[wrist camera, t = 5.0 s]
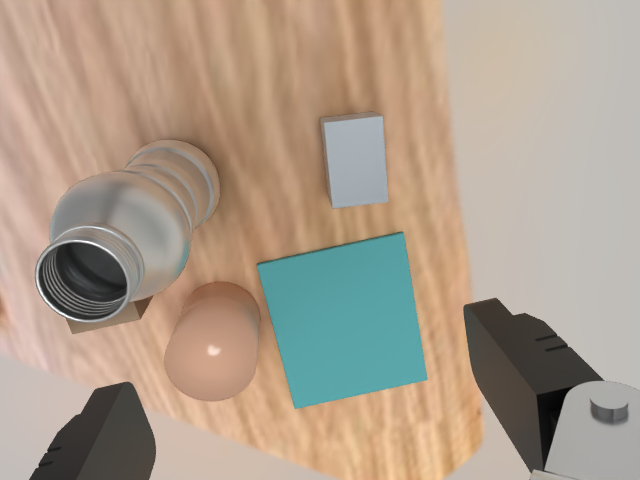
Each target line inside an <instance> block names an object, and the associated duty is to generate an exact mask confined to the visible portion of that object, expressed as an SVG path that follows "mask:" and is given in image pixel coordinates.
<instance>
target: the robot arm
mask: <svg viewBox="0 0 640 480" xmlns="http://www.w3.org/2000/svg"><path fill="white" fill-rule="evenodd" d="M463 311H464V320H465V327H466V335H467V342H468V349H469V356H470V363H471V367H472V371H473V374H474V377H475V380H476V383H477V385H478V387H479V389H480V390H481V392H482V394H483V395H484V397H485V399H486V400H487V402H488V404H489V405H490V407H491V408H492V410H493V412H494V413H495V415H496V417H497V418H498V420H499V422H500V423H501V425H502V426H503V428H504V430H505V431H506V433H507V435H508V436H509V438H510V440H511V441H512V443H513V444H514V446H515V448H516V449H517V451H518V453H519V454H520V456H521V458H522V459H523V461H524V462H525V464H526V466H527V467H528V469H529V471H530V472H531V476H530V479H529V480H640V391H639V390H637V389H636V388H633V387H631V386H628V385H625V384H622V383H617V382H611V381H604V380H603V379H602V378H601V377H600V376H599V375H598V374H597V373H596V372H595V371H594V370H593V369H592V368H591V367H590V366H589V365H588V364H587V363H586V362H585V361H584V360H583V359H582V358H581V357H580V356H579V355H578V354H577V353H576V352H575V351H574V350H573V349H572V348H570V347H568V345H567V343H565V341H563V340H562V339H561V338H560V337H558V336H557V334H556V333H555V332H554V331H553V330H552V329H551V328H550V327H549V326H548V325H547V324H546V323H545V322H544V321H542V320H539V319H537V318H535V317H533V316H530V315H528V314H526V313H523V314H518V315H512V314H511V313H510V312H509V311H508V310H507V308H506V307H505V306H504V305H503V304H502V303H501V302H500V301H499V300H498V299H497V298H493V299H489V300H484V301H479V302H475V303H471V304H466V305H464V310H463ZM47 451H48V452H47V453H45V454H44V456H43V458H42V460H41V461H40V463H39V468H36V469H35V471H34V473H33V474H32V476H31V477H30V479H29V480H149V478H150V475H151V471H152V469H153V465H154V462H155V456H156V446H155V438H154V435H153V432H152V429H151V427H150V424H149V422H148V419H147V417H146V414H145V412H144V409H143V407H142V404H141V402H140V399H139V397H138V394H137V392H136V390H135V388H134V386H133V385H132V383H130V382H123V383H119V384H115V385H110V386H106V387H102V388H97V389H95V390H94V392H93V393H92V395H91V397H90V398H89V400H88V402H87V404H86V405H85V407H84V409H83V411H82V412H81V414H79V415H76V416H75V417H73V418H72V419H71V420H70V421H69V422H68V423H67V424H66V425H65V426H64V427H63V428H62V429H61V430H60V431H59V432H58V433H57V435H56V436H55V438H54V440H53V441H52V443H51V444H50V446H49V448H48V450H47Z"/></svg>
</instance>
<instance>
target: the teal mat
mask: <svg viewBox="0 0 640 480" xmlns="http://www.w3.org/2000/svg"><path fill="white" fill-rule="evenodd" d="M257 268H258V272H259V275H260V279H261V283H262V287H263V290H264V294H265V298H266V302H267V305H268V309H269V313H270V317H271V320H272V324H273V328H274V332H275V335H276V339H277V343H278V347H279V351H280V354H281V358H282V362H283V366H284V369H285V373H286V377H287V381H288V384H289V388H290V392H291V396H292V399H293V403H294V407H295V409H297V408H302V407H306V406H311V405H315V404H320V403H324V402H329V401H334V400H338V399H343V398H347V397H352V396H356V395H361V394H366V393H370V392H375V391H379V390H384V389H388V388H393V387H398V386H402V385H407V384H411V383H416V382H420V381H425V380H427V375H426V368H425V362H424V356H423V350H422V344H421V337H420V331H419V325H418V319H417V313H416V307H415V300H414V294H413V288H412V282H411V276H410V269H409V263H408V257H407V251H406V245H405V239H404V233H403V232H399V233H394V234H390V235H385V236H381V237H376V238H371V239H367V240H362V241H358V242H353V243H349V244H344V245H340V246H335V247H330V248H326V249H321V250H317V251H312V252H308V253H303V254H298V255H294V256H289V257H285V258H280V259H276V260H271V261H266V262H262V263H257Z"/></svg>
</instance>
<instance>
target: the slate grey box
mask: <svg viewBox="0 0 640 480" xmlns="http://www.w3.org/2000/svg"><path fill="white" fill-rule="evenodd" d="M320 123H321V133H322V142H323V152H324V161H325V171H326V181H327V190H328V197H329V200H330V203H331V205H332V208H342V207H350V206H358V205H366V204H375V203H383V202H388V189H387V173H386V158H385V143H384V128H383V116H382V115H379V114H377V113H375V112H364V113H356V114H347V115H338V116H330V117H321V118H320Z"/></svg>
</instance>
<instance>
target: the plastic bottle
mask: <svg viewBox="0 0 640 480" xmlns="http://www.w3.org/2000/svg"><path fill="white" fill-rule="evenodd" d="M219 199H220V181H219V177H218V173H217V170H216V168H215V166H214V164H213V163H212V161H211V160H210V159H209V157H208V156H207V155H206V154H205V153H204V152H202V151H201V150H200V149H198V148H197V147H195V146H193V145H191V144H189V143H186V142H182V141H177V140H159V141H154V142H151V143H149V144H146V145H145V146H143V147H142V148H140V149H139V150H138V151H137V152H136V153H135V154H134V155H133V156H132V158H131V159H130V160H129V162H128V164H127V165H126V167H125V169H123V170H120V171H113V172H107V173H101V174H97V175H95V176H91V177H89V178H86V179H84V180H82V181H79V182H78V183H76V184H75V185H74V186H72V187H71V188H69V189H68V190H67V192H66V193H65V194H64V195H63V196H62V197H61V199H60V201H59V202H58V204H57V206H56V208H55V210H54V213H53V216H52V220H51V223H50V229H49V240H50V245H49V246H48V247H47V248H46V249H45V250H44V251H43V252H42V254H41V256H40V258H39V260H38V261H37V264H36V268H35V282H36V287H37V289H38V291H39V294H40V296H41V297H42V299H43V300H44V301H45V303H46V304H47V305H48V306H49V307H50V308H51V309H52V310H54V311H55V312H56V313H58V314H59V315H61V316H63V317H65V318H67V319H70V320H73V321H76V322H81V323H98V322H103V321H106V320H108V319H111V318H113V317H114V316H116V315H117V314H119V313H120V312H121V311H122V310H123V309H124V308H125V307H126V305H127V304H128V302H131V301H137V300H142V299H145V298H147V297H150V296H152V295H155V294H157V293H159V292H161V291H162V290H164V289H166V288H167V287H169V286H170V285H171V284H172V283H173V282H174V281H175V280H176V279H177V278H178V277H179V275H180V274H181V272H182V270H183V269H184V267H185V264H186V261H187V258H188V255H189V252H190V246H191V236H192V232H193V229H195V228H197V227H198V226H200V225H201V224H203V223H204V222H205V221H206V220H207V219H208V218H209V217H210V216H211V215H212V214H213V213H214V211H215V209H216V208H217V205H218V202H219Z"/></svg>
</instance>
